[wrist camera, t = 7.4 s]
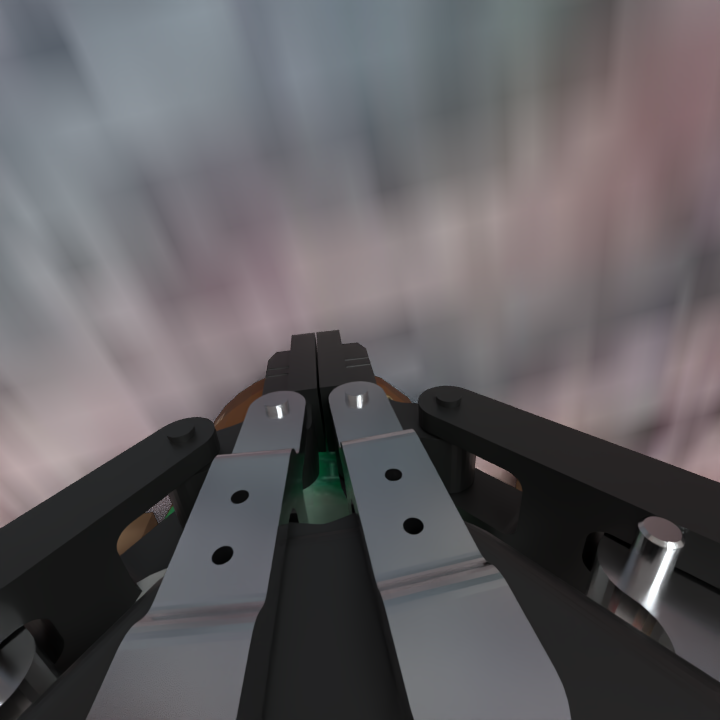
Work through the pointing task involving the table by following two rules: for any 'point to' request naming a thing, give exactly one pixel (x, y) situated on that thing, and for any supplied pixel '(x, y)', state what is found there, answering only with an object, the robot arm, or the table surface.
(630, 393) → the table surface
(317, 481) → the food container
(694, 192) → the table surface
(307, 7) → the table surface
